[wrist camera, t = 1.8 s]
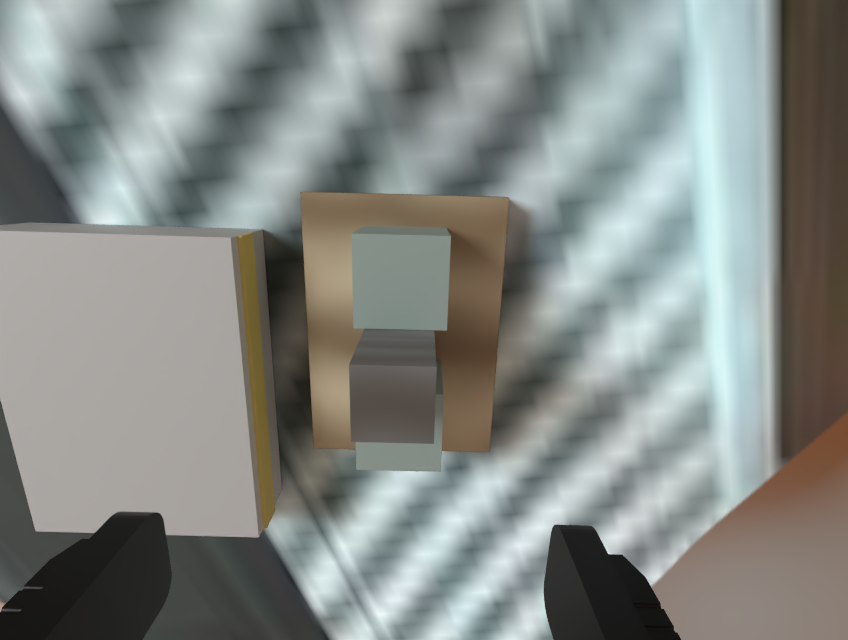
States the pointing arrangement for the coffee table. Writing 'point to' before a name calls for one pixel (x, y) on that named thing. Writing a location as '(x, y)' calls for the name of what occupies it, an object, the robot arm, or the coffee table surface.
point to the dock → (139, 375)
